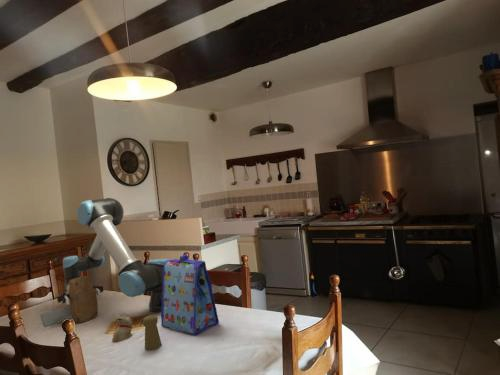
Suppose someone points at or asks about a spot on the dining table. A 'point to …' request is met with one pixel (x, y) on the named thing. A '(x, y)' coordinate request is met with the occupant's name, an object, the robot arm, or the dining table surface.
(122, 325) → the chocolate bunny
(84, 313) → the block
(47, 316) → the mat
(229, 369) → the dining table surface
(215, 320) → the lunch bag
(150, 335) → the cork
